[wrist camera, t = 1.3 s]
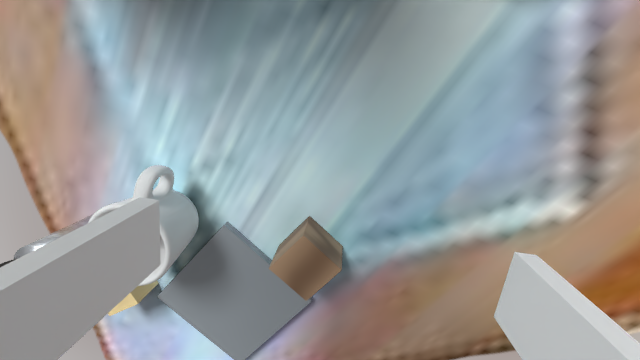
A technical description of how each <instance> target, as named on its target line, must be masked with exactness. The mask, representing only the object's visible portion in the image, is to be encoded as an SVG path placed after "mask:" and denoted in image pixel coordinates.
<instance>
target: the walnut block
mask: <svg viewBox="0 0 640 360" xmlns="http://www.w3.org/2000/svg"><path fill="white" fill-rule="evenodd" d="M342 249H343V246H342V245H341V244H340V243H339V242H338V241H336V240H335V239H334V238H333V237H332V236H331V235H330V234H329V233H328V232H327V231H326V230H324V229H323V228H322V227H321V226H320V225H319V224H318V223H317V222H316V221H315V220H314V219H312V218H311V217H310V216H309V217H308V218H307V219H306V220H305V221H304V222H303V223H302V224H301V225H299V226H298V227H297V228H296V229H295V230H294V231H293V232H292V233H291V234H290V235H289V236H288V237H287V238H286V239H285V240H284V241H283V242H282V243H281V244H280V245H279V247H278V249H277V251H276V253H275V256H274V258H273V260H272V262H271V264H270V267H269V269H270V270H271V271H272V272H273V273H274V274H275V275H277V276H278V277H279V278H280V279H281V280H282V281H284V282H285V283H286V284H287V285H288V286H289V287H290V288H292V289H293V290H294V291H295V292H296V293H297V294H298V295H300V296H301V297H302V298H303V299H304V300H305V301H307V300H308V299H309V298H311V297H312V296H313V295H314V294H315V293H316V292H317V291H318V290H320V289H321V288H322V287H323V286H324V285H325V284H326V283H328V282H329V281H330V280H331V279H332V278H333V277H334V276H336V275H337V274H338V273H339V272H340V271H341V270H342Z"/></svg>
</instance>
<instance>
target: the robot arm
mask: <svg viewBox="0 0 640 360" xmlns="http://www.w3.org/2000/svg"><path fill="white" fill-rule="evenodd" d="M160 265H161V260H160V212H159V200H155V199H148V198H141V197H139V198H137V199H135V200H133V201H131V202H129V203H127V204H125V205H123V206H121V207H119V208H117V209H115V210H114V211H112V212H110V213H108V214H106V215H104V216H102V217H100V218H98V219H96V220H94V221H92V222H90V223H88V224H86V225H84V226H82V227H80V228H78V229H76V230H74V231H72V232H70V233H68V234H66V235H64V236H62V237H60V238H58V239H56V240H54V241H52V242H50V243H48V244H46V245H44V246H42V247H40V248H38V249H36V250H34V251H32V252H30V253H28V254H26V255H24V256H22V257H20V258H17V259H14V260H11V261H8V262H4V263H2V264H0V360H58V359H59V358H60V357H61V356H62V355H63V354H64V353H65V352H66V351H68V350H69V349H70V348H71V347H72V346H73V345H74V344H75V343H76V342H77V341H78V340H79V339H81V338H82V337H83V336H84V335H85V334H86V333H87V332H88V331H89V330H90V329H91V328H92V327H94V326H95V325H96V324H97V323H98V322H99V321H100V320H101V319H102V318H103V317H104V316H106V315H107V314H108V313H109V312H110V311H111V310H112V309H113V308H114V307H115V306H116V305H117V304H119V303H120V302H121V301H122V300H123V299H124V298H125V297H126V296H127V295H128V294H129V293H130V292H132V291H133V290H134V289H135V288H136V287H137V286H138V285H139V284H140V283H141V282H142V281H144V280H145V279H146V278H147V277H148V276H149V275H150V274H151V273H152V272H153V271H154V270H155V269H157V268H158V267H159V266H160ZM494 318H495V319H496V321H497V322H498V324H499V325H500V327H501V328H502V330H503V331H504V333H505V334H506V336H507V338H508V339H509V341H510V342H511V344H512V345H513V347H514V348H515V350H516V351H517V353H518V354H519V356H520V357H521V359H522V360H640V344H639V342H637V341H636V340H635V339H634V338H633V337H631V336H630V335H629V334H628V333H627V332H626V331H625V330H623V329H622V328H621V327H620V326H619V325H618V324H616V323H615V322H614V321H613V320H612V319H611V318H609V317H608V316H607V315H606V314H605V313H604V312H602V311H601V310H600V309H599V308H598V307H597V306H595V305H594V304H593V303H592V302H591V301H590V300H588V299H587V298H586V297H585V296H584V295H583V294H581V293H580V292H579V291H578V290H577V289H576V288H574V287H573V286H572V285H571V284H570V283H569V282H567V281H566V280H565V279H564V278H563V277H562V276H560V275H559V274H558V273H557V272H556V271H555V270H553V269H552V268H551V267H550V266H549V265H548V264H546V263H545V262H544V261H543V260H542V259H541V258H539V257H538V256H537V255H532V254H525V253H519V252H514V256H513V259H512V262H511V265H510V268H509V271H508V274H507V277H506V280H505V283H504V287H503V290H502V293H501V296H500V299H499V302H498V305H497V308H496V311H495V314H494Z"/></svg>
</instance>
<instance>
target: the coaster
mask: <svg viewBox="0 0 640 360" xmlns="http://www.w3.org/2000/svg"><path fill="white" fill-rule="evenodd" d="M271 262H272V260H271V259H270V258H268V257H267V256H266V255H265V254H264V253H263V252H262V251H261V250H259V249H258V248H257V247H256V246H255V245H254V244H253V243H251V242H250V241H249V240H248V239H247V238H246V237H245V236H243V235H242V234H241V233H240V232H239V231H238V230H237V229H235V228H234V227H233V226H232V225H231V224H230V223H229V222H226V223H225V224H224V226H223V227H222V228H221V229H220V230H219V231H218V232H217V233H216V234H215V235H214V236H213V237H212V238H211V239H210V240H209V242H208V243H207V244H206V245H205V246H204V247H203V248H202V249H201V250H200V251H199V252H198V253H197V254H196V255H195V256H194V258H193V259H192V260H191V261H190V262H189V263H188V264H187V265H186V266H185V267H184V268H183V269H182V270H181V271H180V272H179V274H178V275H177V276H176V277H175V278H174V279H173V280H172V281H171V282H170V283H169V284H168V285H167V286H166V287H165V288H164V290H163V291H162V292H161V293H160V294H159V295H158V296H157V298H159V299H160V300H161V301H162V302H164V303H165V304H166V305H167V306H169V307H170V308H171V309H172V310H174V311H175V312H176V313H177V314H178V315H180V316H181V317H182V318H183V319H185V320H186V321H187V322H188V323H190V324H191V325H192V326H193V327H194V328H196V329H197V330H198V331H199V332H201V333H202V334H203V335H204V336H206V337H207V338H208V339H209V340H211V341H212V342H213V343H214V344H215V345H217V346H218V347H219V348H220V349H222V350H223V351H224V352H225V353H227V354H228V355H229V356H230V357H232V358H233V359H234V360H245V359H246V358H247V357H249V356H250V355H251V354H252V353H253V352H254V351H255V350H257V349H258V348H259V347H260V346H261V345H262V344H263V343H265V342H266V341H267V340H268V339H269V338H270V337H271V336H273V335H274V334H275V333H276V332H277V331H278V330H279V329H281V328H282V327H283V326H284V325H285V324H286V323H287V322H289V321H290V320H291V319H292V318H293V317H294V316H295V315H297V314H298V313H299V312H300V311H301V310H302V309H303V308H305V307H306V306H307V305H308V304H309V303H310V302H311V301H312V297H311V298H309V299H308V300H307V301H305V300H304V299H303V298H302V297H301V296H300V295H298V294H297V293H296V292H295V291H294V290H293V289H292V288H290V287H289V286H288V285H287V284H286V283H285V282H284V281H282V280H281V279H280V278H279V277H278V276H277V275H275V274H274V273H273V272H272V271H271V270H270V269H269V267H270V264H271Z"/></svg>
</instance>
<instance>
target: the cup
mask: <svg viewBox="0 0 640 360" xmlns="http://www.w3.org/2000/svg"><path fill="white" fill-rule="evenodd" d="M159 177H160V181H159V183H158V185H157V187H156V188H155V189H154V190H153V186H154V184H155V182H156V180H157V179H158V178H159ZM173 184H174V173H173V171H172V170H171V169H170V168H169V167H166V166H162V165H154V166H151V167H149V168H147V169H145V170H144V171H143V172H142V173H141V174H140V176H139V177H138V179H137V182H136V185H135V189H134V194H133V197H132V198H129V199H126V200H123V201H119V202H116V203H113V204H110V205H107V206H105V207H103V208H101V209H100V210H98V211H97V212H96V213H95V214H94V215H93V216H92V217H91V219H90V220H89V222H88V223H90V222H92V221H94V220H96V219H98V218H100V217H102V216H104V215H106V214H108V213H110V212H112V211H114V210H115V209H117V208H119V207H121V206H123V205H125V204H127V203H129V202H131V201H133V200H135V199H137V198H139V197H141V198H148V199H155V200H159V212H160V260H161V265H160V266H159V267H158V268H157V269H155V270H154V271H153V272H152V273H151V274H150V275H149V276H148V277H147V278H146V279H145V280H144V281H142V282H141V283H140V284H139V285H138V286H143V285H147V284H151V283H153V282H155V281H157V280H158V279H160V278H161V277H162V276H163V275H164V274H165V273H166V272H167V271H168V269H169V268H170V267H171V266H172V264H173V263H174V262H175V261H176V259H177V258H178V257H179V255H180V254H181V253H182V252H183V250H184V249H185V248H186V247H187V245H188V244H189V243H190V241H191V240H192V239H193V237H194V236H195V234H196V232H197V229H198V224H199V217H198V212H197V209H196V207H195V206H194V204H193V203H192V201H191V200H190V199H189V198H188V197H186V196H185V195H184V194H182V193H180V192H178V191H174V190H173Z"/></svg>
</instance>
